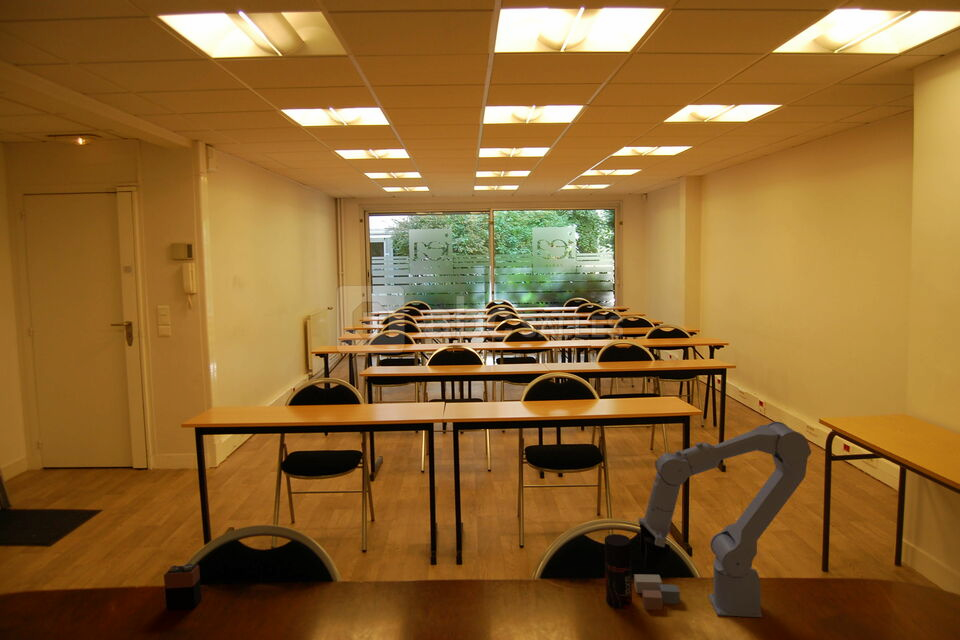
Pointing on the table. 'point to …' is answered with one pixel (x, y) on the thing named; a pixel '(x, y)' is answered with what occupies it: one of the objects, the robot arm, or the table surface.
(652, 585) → the cream brick
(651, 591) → the terracotta brick
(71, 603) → the table surface
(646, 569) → the robot arm
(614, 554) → the deodorant
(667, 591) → the slate brick
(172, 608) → the battery
